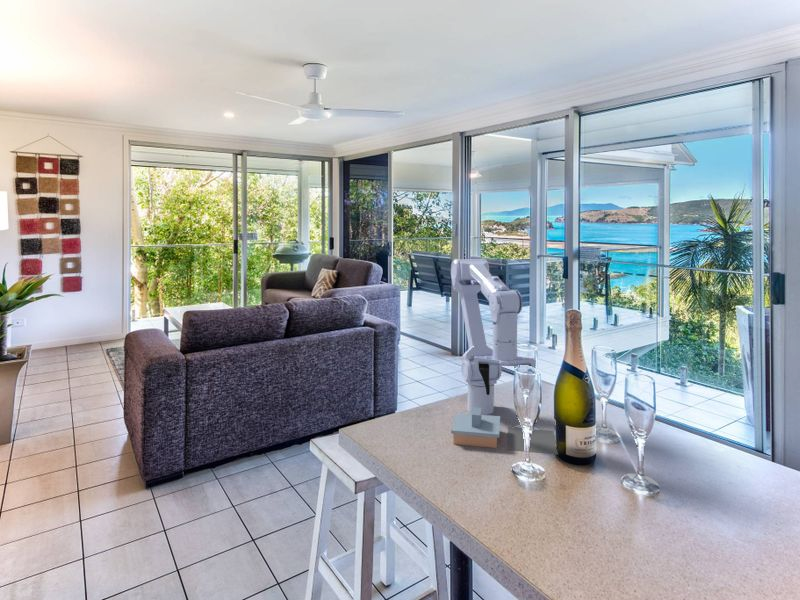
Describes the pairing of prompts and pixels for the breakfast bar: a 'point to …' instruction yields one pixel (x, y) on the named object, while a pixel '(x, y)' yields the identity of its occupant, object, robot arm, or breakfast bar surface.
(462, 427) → the lid
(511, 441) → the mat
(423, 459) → the breakfast bar surface
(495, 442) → the square open tray
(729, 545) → the breakfast bar surface
